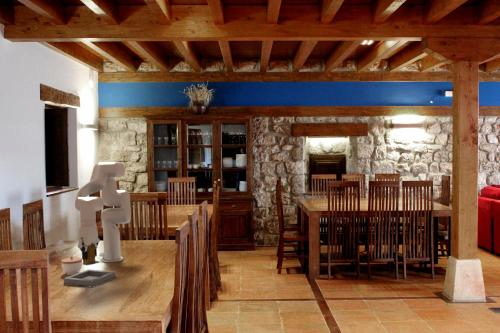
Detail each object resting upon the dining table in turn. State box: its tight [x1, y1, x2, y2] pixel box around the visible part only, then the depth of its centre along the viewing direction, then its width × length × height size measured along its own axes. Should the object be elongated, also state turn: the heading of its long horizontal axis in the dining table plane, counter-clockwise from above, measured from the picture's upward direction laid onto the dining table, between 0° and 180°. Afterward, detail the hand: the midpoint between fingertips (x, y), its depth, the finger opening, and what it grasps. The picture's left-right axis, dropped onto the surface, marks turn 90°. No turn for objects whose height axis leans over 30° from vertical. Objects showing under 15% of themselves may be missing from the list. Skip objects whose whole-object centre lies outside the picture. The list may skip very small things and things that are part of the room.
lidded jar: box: [60, 256, 83, 276], centre depth 259 cm, size 11×11×9 cm
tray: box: [63, 268, 117, 288], centre depth 243 cm, size 18×18×3 cm
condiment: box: [80, 243, 101, 266], centre depth 243 cm, size 7×8×12 cm
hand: (89, 257), depth 243 cm, fingers closed on condiment, 6 cm apart
